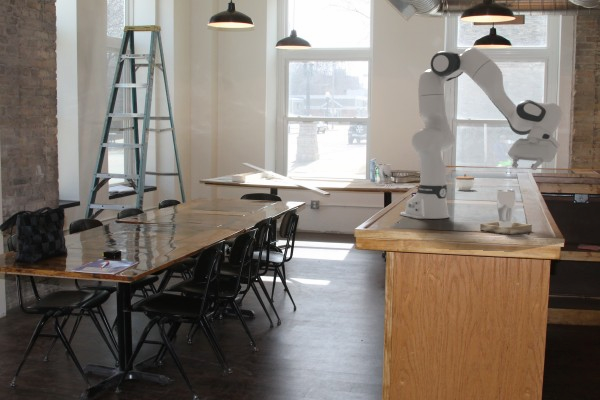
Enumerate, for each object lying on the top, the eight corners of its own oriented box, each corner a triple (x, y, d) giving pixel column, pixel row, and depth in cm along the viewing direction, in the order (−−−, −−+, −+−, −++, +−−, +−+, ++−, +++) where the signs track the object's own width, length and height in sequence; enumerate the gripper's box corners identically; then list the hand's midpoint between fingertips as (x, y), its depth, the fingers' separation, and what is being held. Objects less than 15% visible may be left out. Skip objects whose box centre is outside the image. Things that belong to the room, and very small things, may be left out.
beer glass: (501, 231, 283) (502, 191, 281) (492, 228, 290) (493, 190, 288) (518, 230, 285) (519, 191, 283) (509, 227, 291) (510, 189, 290)
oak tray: (480, 230, 288) (480, 223, 288) (502, 227, 296) (503, 220, 296) (508, 235, 278) (509, 228, 277) (531, 231, 286) (531, 224, 285)
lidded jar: (472, 189, 447) (473, 173, 446) (475, 191, 437) (475, 175, 436) (454, 189, 449) (454, 173, 447) (456, 190, 438) (456, 175, 437)
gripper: (513, 133, 306) (498, 161, 303) (555, 136, 289) (540, 165, 286) (521, 142, 309) (507, 170, 306) (563, 145, 293) (548, 174, 290)
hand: (523, 168), depth 296 cm, fingers open, 8 cm apart
